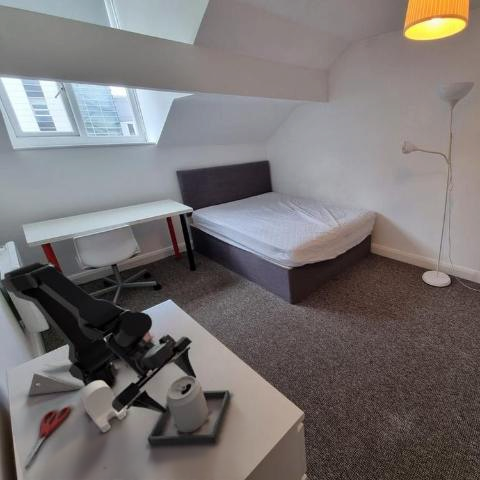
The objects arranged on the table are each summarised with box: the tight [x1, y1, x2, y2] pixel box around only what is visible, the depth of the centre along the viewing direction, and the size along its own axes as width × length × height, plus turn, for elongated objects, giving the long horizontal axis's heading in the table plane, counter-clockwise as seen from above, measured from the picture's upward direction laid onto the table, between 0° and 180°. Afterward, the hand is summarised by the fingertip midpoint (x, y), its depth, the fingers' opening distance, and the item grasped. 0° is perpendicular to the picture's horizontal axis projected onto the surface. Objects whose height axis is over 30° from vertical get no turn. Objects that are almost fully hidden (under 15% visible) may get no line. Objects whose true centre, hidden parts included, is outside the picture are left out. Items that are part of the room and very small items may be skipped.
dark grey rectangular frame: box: [147, 389, 231, 447], centre depth 67 cm, size 15×12×2 cm
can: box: [165, 375, 209, 433], centre depth 65 cm, size 8×8×12 cm
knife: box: [44, 353, 121, 368], centre depth 85 cm, size 26×2×5 cm
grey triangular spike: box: [28, 372, 81, 396], centre depth 79 cm, size 6×5×13 cm
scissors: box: [23, 406, 72, 469], centre depth 65 cm, size 5×14×1 cm, turn 17°
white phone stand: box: [79, 380, 127, 433], centre depth 68 cm, size 5×10×10 cm, turn 58°
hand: (181, 394), depth 65 cm, fingers open, 9 cm apart
